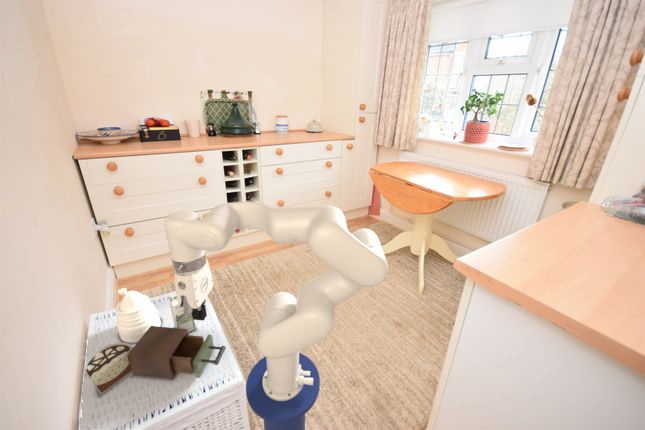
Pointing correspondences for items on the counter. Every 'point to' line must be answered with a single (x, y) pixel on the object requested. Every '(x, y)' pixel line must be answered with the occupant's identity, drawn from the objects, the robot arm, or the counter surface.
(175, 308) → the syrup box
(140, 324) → the honey pot
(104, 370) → the mint chocolate cake slice
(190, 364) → the drawer
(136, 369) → the cabinet
